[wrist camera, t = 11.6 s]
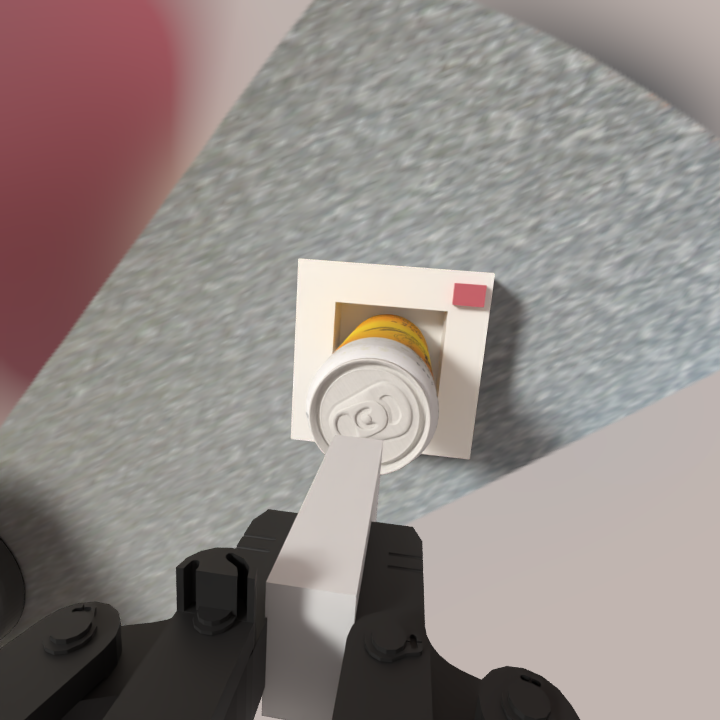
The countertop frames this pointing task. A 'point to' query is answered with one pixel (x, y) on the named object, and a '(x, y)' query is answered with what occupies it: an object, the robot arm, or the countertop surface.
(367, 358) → the beer can
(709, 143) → the countertop surface
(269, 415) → the countertop surface
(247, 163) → the countertop surface
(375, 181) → the countertop surface
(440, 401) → the socket block
